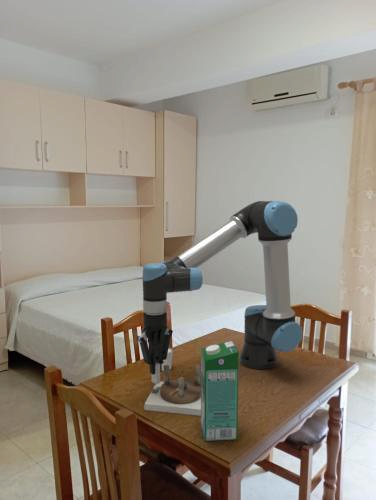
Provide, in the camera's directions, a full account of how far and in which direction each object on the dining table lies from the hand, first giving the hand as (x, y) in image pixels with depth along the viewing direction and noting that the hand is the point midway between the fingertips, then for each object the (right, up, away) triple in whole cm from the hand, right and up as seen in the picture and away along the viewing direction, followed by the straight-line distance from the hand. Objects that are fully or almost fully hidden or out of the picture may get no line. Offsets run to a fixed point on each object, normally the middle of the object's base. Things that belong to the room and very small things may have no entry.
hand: (155, 382), depth 131 cm
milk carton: (+19, -8, -18) cm, 27 cm away
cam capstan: (+8, -4, 0) cm, 9 cm away
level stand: (+8, -6, 0) cm, 10 cm away
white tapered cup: (+1, -3, +25) cm, 26 cm away
